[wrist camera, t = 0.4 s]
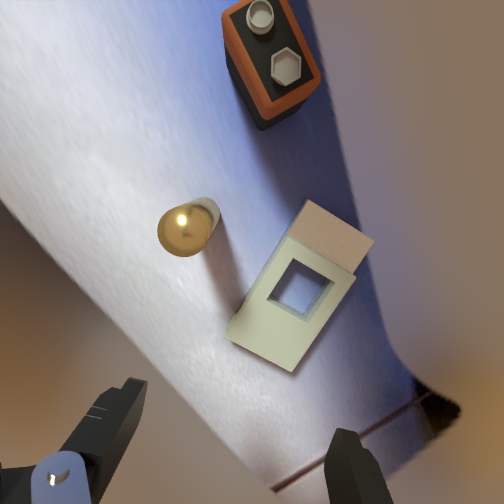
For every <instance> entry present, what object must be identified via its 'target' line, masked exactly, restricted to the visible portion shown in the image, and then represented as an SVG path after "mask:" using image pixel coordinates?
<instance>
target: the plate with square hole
mask: <svg viewBox="0 0 504 504" xmlns="http://www.w3.org/2000/svg"><path fill="white" fill-rule="evenodd" d="M293 258H294V259H296V260H298V261H299V262H301V263H303V264H304V265H306V266H308V267H310V268H311V269H313V270H315V271H316V272H318V273H320V274H321V275H323V276H325V277H327V278H328V279H330V280H331V282H330V283H329V285H328V286H327V288H326V289H325V291H324V292H323V294H322V295H321V297H320V298H319V300H318V301H317V303H316V304H315V305H314V307H313V308H312V310H311V311H310V313H309V314H308V316H307V317H306V318H304V317H302V316H300V315H298V314H297V313H295V312H293V311H291V310H289V309H288V308H286V307H284V306H282V305H280V304H279V303H277V302H275V301H273V300H272V299H270V298H268V296H269V295H270V293H271V292H272V290H273V288H274V287H275V285H276V284H277V282H278V281H279V279H280V278H281V276H282V274H283V273H284V271H285V270H286V268H287V267H288V265H289V263H290V262H291V260H292V259H293ZM356 278H357V277H355V276H354V275H353V274H351V273H350V272H348V271H346V270H345V269H343V268H341V267H340V266H338V265H336V264H335V263H333V262H331V261H330V260H328V259H326V258H325V257H323V256H321V255H320V254H318V253H316V252H315V251H313V250H311V249H310V248H308V247H306V246H305V245H303V244H301V243H300V242H298V241H296V240H294V239H293V238H291V237H289V236H288V235H286V236H285V238H284V240H283V241H282V243H281V244H280V246H279V247H278V249H277V251H276V252H275V254H274V255H273V257H272V259H271V260H270V262H269V263H268V265H267V267H266V268H265V270H264V271H263V273H262V275H261V276H260V278H259V279H258V281H257V283H256V284H255V286H254V287H253V289H252V291H251V292H250V294H249V295H248V297H247V299H246V300H245V302H244V303H243V305H242V307H241V308H240V310H239V311H238V313H236V312H235V313H234V315H233V317H232V318H231V320H230V322H229V323H228V325H227V326H226V333H225V338H227V339H229V340H231V341H233V342H235V343H237V344H238V345H240V346H242V347H244V348H246V349H248V350H250V351H252V352H254V353H256V354H257V355H259V356H261V357H263V358H265V359H267V360H269V361H271V362H273V363H275V364H276V365H278V366H280V367H282V368H284V369H286V370H288V371H290V372H292V371H293V369H294V368H295V367H296V365H297V364H298V362H299V361H300V359H301V358H302V356H303V355H304V353H305V352H306V351H307V349H308V348H309V346H310V345H311V343H312V342H313V340H314V339H315V337H316V336H317V335H318V333H319V332H320V330H321V329H322V327H323V326H324V324H325V323H326V321H327V320H328V319H329V317H330V316H331V314H332V313H333V311H334V310H335V308H336V307H337V305H338V304H339V303H340V301H341V300H342V298H343V297H344V295H345V294H346V292H347V291H348V289H349V288H350V287H351V285H352V284H353V282H354V281H355V279H356Z"/></svg>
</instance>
